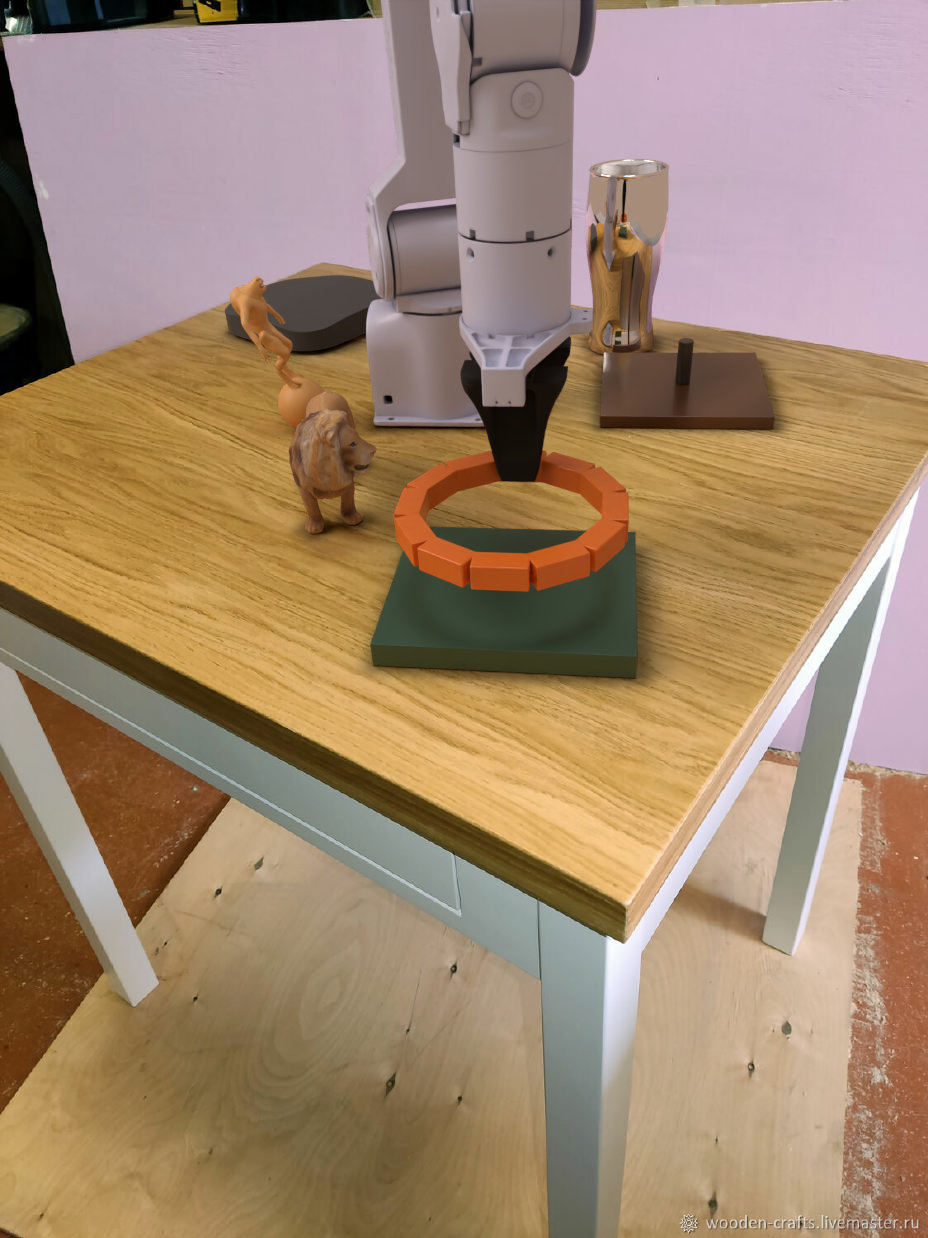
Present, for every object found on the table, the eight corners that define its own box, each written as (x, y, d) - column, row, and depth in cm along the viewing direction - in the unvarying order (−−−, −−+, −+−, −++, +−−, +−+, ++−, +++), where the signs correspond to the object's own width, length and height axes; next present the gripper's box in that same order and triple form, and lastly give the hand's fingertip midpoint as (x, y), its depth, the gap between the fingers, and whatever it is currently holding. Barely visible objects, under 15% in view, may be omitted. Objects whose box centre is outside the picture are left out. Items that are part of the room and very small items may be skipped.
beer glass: (670, 337, 85) (685, 160, 76) (640, 363, 80) (651, 178, 71) (602, 326, 88) (608, 156, 79) (569, 351, 83) (571, 173, 74)
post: (599, 427, 71) (601, 372, 68) (603, 363, 81) (604, 312, 78) (773, 429, 69) (782, 372, 66) (754, 363, 79) (761, 311, 76)
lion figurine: (391, 549, 58) (375, 419, 53) (308, 563, 57) (283, 432, 52) (360, 450, 70) (344, 334, 64) (290, 460, 69) (268, 344, 64)
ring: (627, 595, 44) (629, 572, 43) (377, 586, 46) (373, 563, 45) (627, 472, 54) (628, 451, 53) (420, 469, 55) (418, 448, 54)
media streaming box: (312, 361, 85) (306, 329, 83) (213, 333, 93) (206, 303, 91) (414, 314, 94) (412, 284, 92) (316, 292, 101) (312, 264, 100)
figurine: (327, 447, 70) (301, 290, 63) (250, 453, 70) (215, 297, 63) (335, 403, 77) (313, 256, 70) (264, 408, 77) (235, 262, 70)
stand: (373, 665, 49) (369, 644, 48) (413, 545, 58) (411, 525, 58) (636, 678, 47) (637, 656, 46) (634, 551, 56) (635, 531, 56)
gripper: (591, 270, 39) (583, 538, 47) (598, 191, 51) (591, 418, 59) (430, 272, 40) (450, 534, 48) (473, 194, 52) (483, 417, 60)
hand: (519, 470), depth 54 cm, fingers closed on ring, 1 cm apart
